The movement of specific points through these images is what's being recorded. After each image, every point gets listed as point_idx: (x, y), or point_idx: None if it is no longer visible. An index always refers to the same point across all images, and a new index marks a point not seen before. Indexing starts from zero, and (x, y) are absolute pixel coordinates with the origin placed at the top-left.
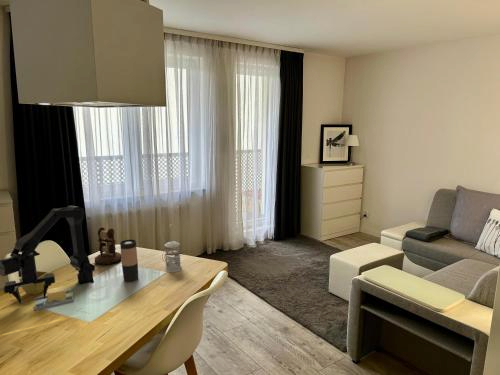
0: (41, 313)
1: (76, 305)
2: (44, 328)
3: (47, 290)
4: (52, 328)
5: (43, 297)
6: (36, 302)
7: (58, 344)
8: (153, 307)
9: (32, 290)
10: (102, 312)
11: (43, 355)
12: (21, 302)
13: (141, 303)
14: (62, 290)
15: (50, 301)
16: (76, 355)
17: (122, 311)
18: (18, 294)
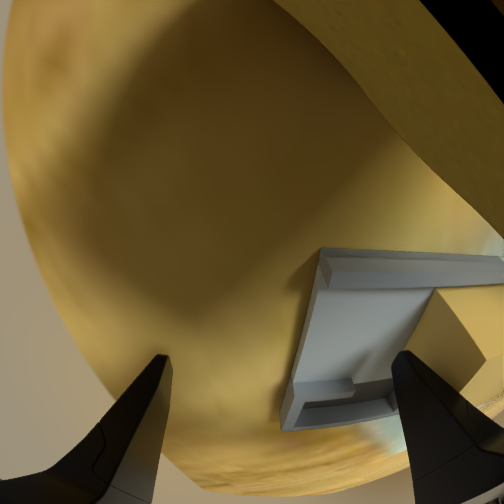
0: None
1: None
2: (290, 468)
3: (471, 379)
4: (310, 468)
5: (410, 281)
6: (320, 333)
7: (302, 484)
8: (487, 416)
9: (355, 72)
10: None
11: (269, 490)
12: (169, 366)
13: (497, 404)
14: (495, 395)
15: None
16: (316, 490)
17: None
18: (145, 499)
